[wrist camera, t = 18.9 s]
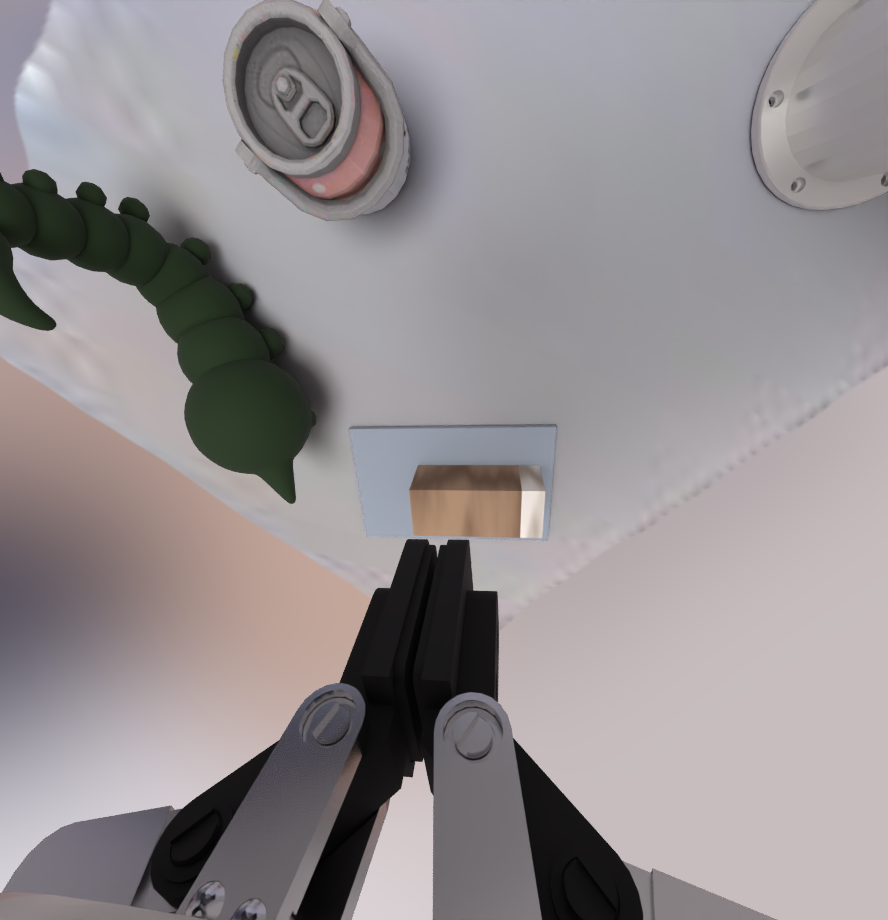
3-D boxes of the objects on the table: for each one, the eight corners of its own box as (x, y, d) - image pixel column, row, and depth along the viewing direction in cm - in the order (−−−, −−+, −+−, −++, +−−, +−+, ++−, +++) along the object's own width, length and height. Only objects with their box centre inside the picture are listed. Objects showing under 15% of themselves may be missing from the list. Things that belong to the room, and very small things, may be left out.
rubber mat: (555, 424, 38) (556, 427, 37) (547, 537, 43) (547, 540, 43) (350, 426, 40) (348, 429, 40) (367, 533, 46) (366, 536, 45)
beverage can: (447, 164, 30) (423, 108, 19) (374, 253, 33) (318, 248, 22) (354, 48, 27) (267, -90, 17) (285, 155, 31) (174, 97, 20)
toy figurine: (145, 254, 36) (297, 483, 43) (-186, 210, 19) (154, 606, 26) (219, 194, 34) (369, 448, 40) (-89, 79, 16) (265, 560, 23)
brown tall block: (417, 465, 40) (539, 465, 39) (421, 507, 43) (536, 508, 41) (409, 490, 36) (545, 491, 35) (413, 535, 38) (542, 538, 37)
